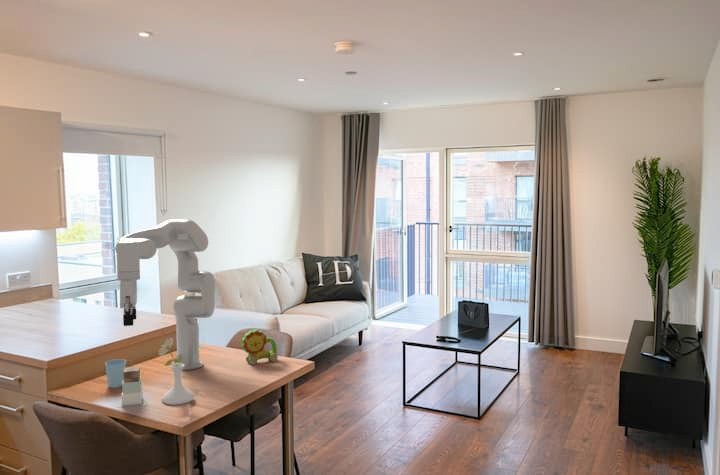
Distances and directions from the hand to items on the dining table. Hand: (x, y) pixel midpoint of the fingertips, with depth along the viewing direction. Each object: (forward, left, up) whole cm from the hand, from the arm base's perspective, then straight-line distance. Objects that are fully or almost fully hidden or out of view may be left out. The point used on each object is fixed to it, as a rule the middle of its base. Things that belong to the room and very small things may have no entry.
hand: (130, 322), depth 203 cm
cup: (-20, -8, -31) cm, 37 cm away
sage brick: (0, 0, -25) cm, 25 cm away
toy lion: (-38, +50, -31) cm, 70 cm away
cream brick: (0, 0, -29) cm, 29 cm away
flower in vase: (+3, +15, -31) cm, 34 cm away
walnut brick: (0, 0, -21) cm, 21 cm away
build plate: (0, 0, -30) cm, 30 cm away
